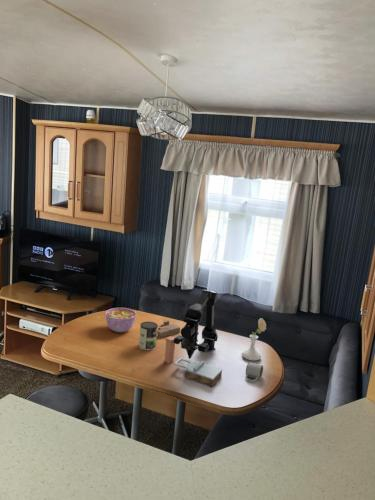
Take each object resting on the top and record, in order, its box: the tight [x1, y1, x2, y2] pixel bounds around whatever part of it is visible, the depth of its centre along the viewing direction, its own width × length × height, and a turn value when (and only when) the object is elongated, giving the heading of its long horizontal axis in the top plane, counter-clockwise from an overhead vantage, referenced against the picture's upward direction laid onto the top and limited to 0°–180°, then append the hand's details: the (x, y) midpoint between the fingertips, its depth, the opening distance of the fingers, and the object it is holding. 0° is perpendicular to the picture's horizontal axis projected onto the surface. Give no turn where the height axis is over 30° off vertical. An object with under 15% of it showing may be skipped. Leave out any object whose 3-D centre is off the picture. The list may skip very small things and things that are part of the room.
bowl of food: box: [104, 307, 137, 333], centre depth 257 cm, size 20×20×12 cm
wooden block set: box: [157, 317, 181, 339], centre depth 263 cm, size 17×6×18 cm
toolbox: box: [183, 370, 223, 388], centre depth 210 cm, size 16×12×4 cm
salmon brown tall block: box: [164, 335, 176, 364], centre depth 222 cm, size 4×4×14 cm
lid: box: [173, 357, 223, 380], centre depth 211 cm, size 24×12×2 cm, turn 62°
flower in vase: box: [241, 317, 267, 361], centre depth 235 cm, size 13×11×25 cm
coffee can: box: [138, 321, 159, 351], centre depth 237 cm, size 10×10×14 cm
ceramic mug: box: [245, 362, 264, 383], centre depth 213 cm, size 11×8×8 cm
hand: (189, 358), depth 212 cm, fingers closed
